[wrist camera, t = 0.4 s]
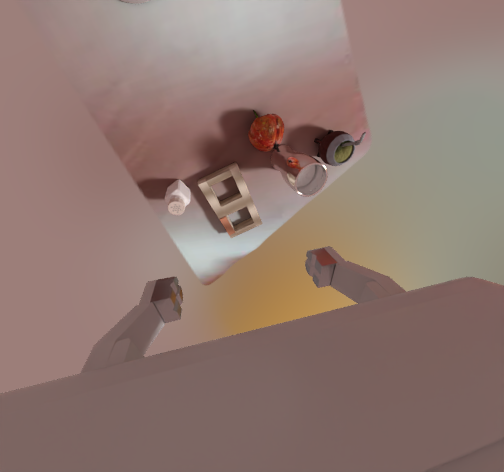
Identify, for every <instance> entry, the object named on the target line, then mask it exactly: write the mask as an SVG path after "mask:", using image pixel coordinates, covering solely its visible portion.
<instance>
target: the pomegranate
mask: <svg viewBox="0 0 504 472" xmlns="http://www.w3.org/2000/svg"><path fill="white" fill-rule="evenodd" d="M253 111H254V110H253ZM254 113H255V115H256V119H255V120H254V122H253V123H252V125H251V128H250V130H249V133H248V136H249V139H250V142H251V143H252V145H253V146H254V147H255V148H256V149H258V150H260V151H270V150H272V149H276V150H277V152H281V151H280V150H279V148H278V145H279V144H280V143H281V140H282V138H283V133H284V124H283V121H282V119H281V118H280V117H279V116H278V115H276V114H267V115H264V116H261V117H259V118H258V116H257V114H256V112H255V111H254Z"/></svg>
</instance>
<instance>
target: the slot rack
mask: <svg viewBox="0 0 504 472" xmlns="http://www.w3.org/2000/svg"><path fill="white" fill-rule="evenodd" d="M231 176H233V178H234V180H235V182H236V184H237V186H238V188H239V191H240V192H239V193H237V194H235V195H233V196H230V197H228V198H226V199H224V200H222V201H219V200H218V198H217V196H216V194H215V193H214V191H213V189H212V187H211V186H212V185H214V184H216V183H219V182H221V181H223V180H225V179H227V178H229V177H231ZM198 186H199V187H200V189H201V191H202V192H203V194H204V195H205V197H206V199H207V200H208V202H209V204H210V205H211V207H212V208H213V210H214V212H215V213H216V215H217V216H218V218H219V220H220V221H221V223H222V224H223V226H224V228H225V229H226V231H227V232H228V234H229V236H230V237H231V238H233V237H235V236H237V235H239V234H241V233H243V232H246V231H248V230H250V229H252V228H254V227H257V226H259V225H261V224H262V222H261V219H260V217H259V214H258V212H257V210H256V207H255V205H254V203H253V200H252V198H251V196H250V193H249V191H248V188H247V186H246V184H245V181H244V179H243V177H242V174H241V172H240V170H239V167H238V165H237V163H236V162H234V163H232V164H230V165H228V166H226V167H224V168H222V169H220V170H218V171H216V172H214V173H212V174H209V175H207V176H205V177H203V178H201V179H199V180H198ZM246 206H247V208H248V210H249V212H250V214H251V218H249V219H247V220H245V221H243V222H241V223H238V224H236V225H234V226H233V224H232V222H231V221H230V219H229V217H228V215H229V214H231V213H234V212H236V211H238V210H240V209H242V208H244V207H246Z"/></svg>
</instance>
